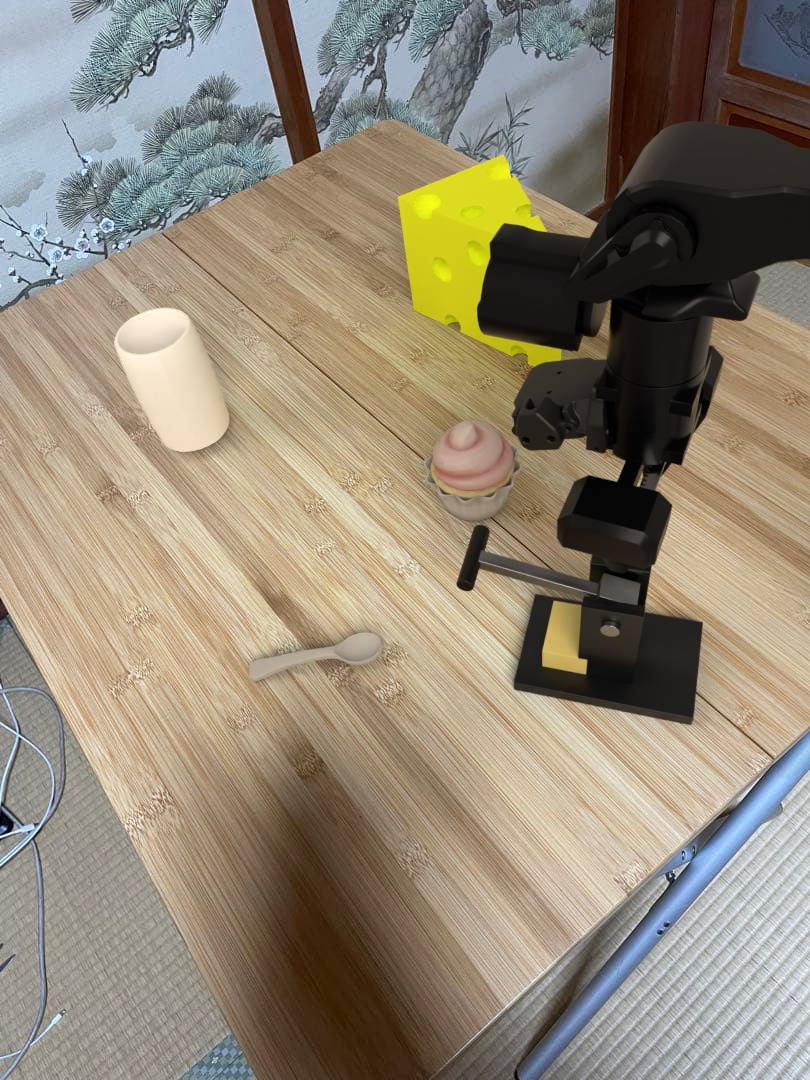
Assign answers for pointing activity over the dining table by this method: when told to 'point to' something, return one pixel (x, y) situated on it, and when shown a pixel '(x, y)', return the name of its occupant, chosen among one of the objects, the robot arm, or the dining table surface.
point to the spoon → (322, 655)
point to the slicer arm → (539, 574)
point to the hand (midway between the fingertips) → (634, 522)
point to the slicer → (618, 655)
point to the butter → (563, 639)
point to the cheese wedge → (464, 246)
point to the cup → (173, 378)
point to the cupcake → (473, 470)
